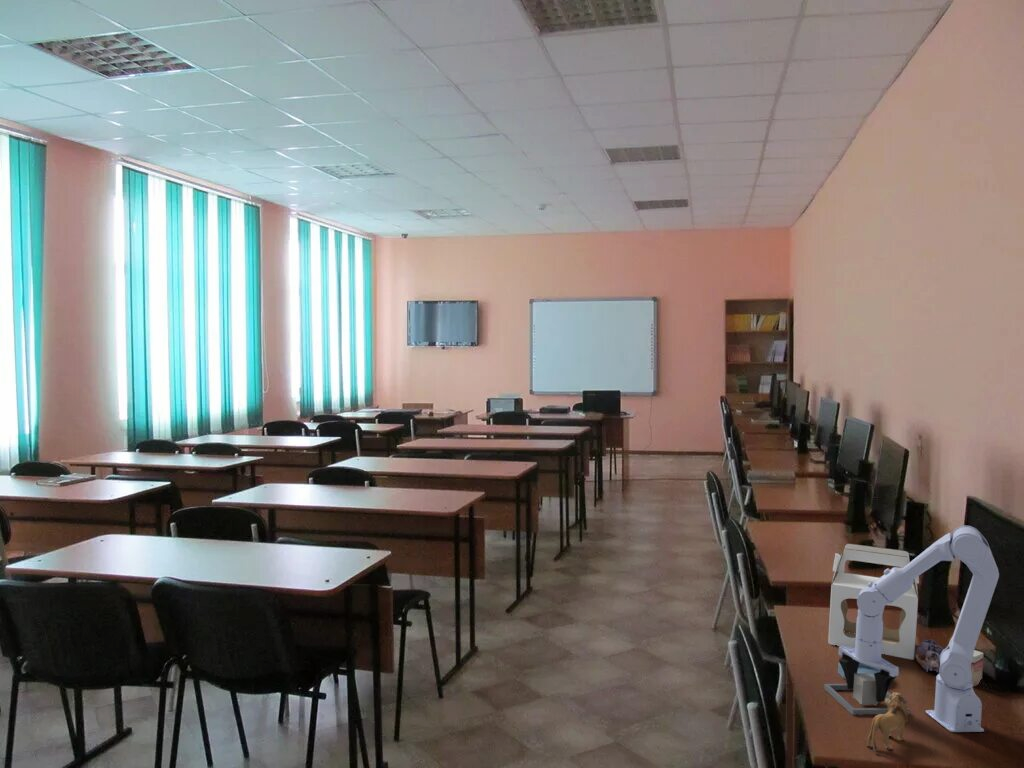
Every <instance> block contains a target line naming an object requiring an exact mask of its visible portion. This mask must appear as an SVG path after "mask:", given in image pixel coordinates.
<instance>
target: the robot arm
mask: <svg viewBox="0 0 1024 768" xmlns="http://www.w3.org/2000/svg"><path fill="white" fill-rule="evenodd" d="M956 558H957V559H959V561H960V562H962V563H964V564H965V565H966V566H967V568H968V569H969V571H970V572H971V573H972V577H971V580H970V584H969V587H968V589H967V593H966V595H965V598H964V600H963V605H962V607H961V611H960V614H959V617H958V619H957V622H956V625H955V629H954V631H953V634H952V637H951V638H950V639H949V642H948V645H947V646H946V648H943V649H944V650H943V651H942V652H941V654H940V668H939V671H938V674H937V675H936V676H935V678H936V679H935V691H934V692H935V694H934V709H927V710H926V709H925V713H926V714H927V715H928V716H930V718H932V719H933V720H935V721H936V722H937V723H939V724H940V725H941V726H943V727H944V729H946V730H947V731H949V732H950V733H972V732H973V733H976V732H977V733H978V732H979V733H982V732H985V729H984V728H983V727H982V725H981V723H982V711H983V710H982V709H983V703H982V701H981V699H980V697H978V695H977V694H976V693H975V691H974V687H973V682H972V681H971V679H972V673H971V663H972V659H973V654H974V650H976V649H975V647H976V646H977V642H978V639H979V636H980V634H981V630H982V628H983V624H984V621H985V619H986V616H987V613H988V610H989V607H990V605H991V601H992V598H993V596H994V593H995V589H996V587H997V584H998V580H999V578H1000V572H999V568H998V566H997V564H996V563H997V562H996V561H995V558H994V556H993V552H992V550H991V547H990V545H989V543H988V540H987V539H986V538H985V536H984V535H983V534H982V533H981V532H980V531H979V530H978V529H977V528H976V527H974V526H971V525H961V526H958V527H956V528H955V529H953V531H952V533H951V532H948V533H946V534H944V535H943V536H942V537H940V538H939V539H937V540H936V541H934V542H933V543H932V544H931V545H930V546H928V547H927V548H925V550H924V551H922V552H921V553H920V554H919V555H917V556H916V557H915V558H914V559H912V560H911V561H910V563H909V564H907V565H906V566H905V567H903V568H901V567H897V566H893V567H892V568H891V569H890V568H889V567H888V568H886V569H884V571H883V575H882V576H879V577H880V578H879V579H877V580H876V581H875V582H873V583H872V582H870V583H868V586H869V587H865V588H863V589H862V590H861V591H860V593H859V596H858V599H856V605H857V608H858V610H857V617H856V623H857V624H856V642H855V649H853V648H849V647H846V646H838V653H837V655H839V656H840V657H841V656H842V657H841V658H839V659H838V663H840V665H841V667H842V669H843V671H844V674H845V677H846V679H845V682H846V684H847V687H848V689H853V688H854V673H857V671H858V666H859V663H863V664H866V665H868V666H871V667H873V668H876V669H878V670H880V672H878V673H874V676H875V680H876V701H877V702H878V704H880V703H882V702H884V701H885V699H886V698H885V697H886V694H887V692H889V688H890V686H891V685H892V683H893V682H894V680H895V679H896V678H897V676H899V670H900V669H899V668H900V667H899V666H897V665H895V664H893V663H891V662H890V661H888V660H886V659H884V658H883V657H882V654H881V652H882V635H883V626H884V621H883V613H884V611H885V607H886V606H887V605H886V604H890V603H892V602H893V601H895V600H896V599H897V598H899V597H900V596H901V595H903V594H904V593H906V592H907V591H908V590H910V589H911V588H912V585H913V579H915V578H916V577H917V576H920V575H922V574H923V573H925V572H927V571H928V570H929V569H931V568H932V567H934V566H935V565H937V564H938V563H940V562H944V561H945V562H955V561H956Z"/></svg>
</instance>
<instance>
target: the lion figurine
mask: <svg viewBox="0 0 1024 768" xmlns="http://www.w3.org/2000/svg"><path fill="white" fill-rule="evenodd" d="M884 701H885V704H886V706H887V708H888V710H887V713H886V714H878V715H874V717H873V718H872V722H871V724H870V725H871V727H870V731H869V734H868V736H867V743H866V746H867V745H868V746H872V745H873V747H872V750H873V752H874V753H876V752H877V749H878V748H877V745H876V734H877V733H876V732H877V731H878V730H879V729H880V732H881V734H882V738H883V740H882V743H883V745H884V747H885V748H886V749H887V748H892V749H893V747H892V745H890V744H889V738H890V737H889V736H891V737H892V731H895V730H896V729H898V733H897V739H898V740H899V739H900V740H899V741H901V740H904V741H905V738H904V737H903V735H904V731H905V724H906V723H907V722H908V717H909V714H908V710H907V708H908V702H907V699H906V698H905V697H904V696H903V694H901V692H895V691H894V692H893V691H892V694H891V695H890V696H889V698H885V700H884ZM868 746H867V747H868Z"/></svg>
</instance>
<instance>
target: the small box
mask: <svg viewBox="0 0 1024 768" xmlns="http://www.w3.org/2000/svg"><path fill="white" fill-rule="evenodd" d="M983 666H984V652H983V651H979V650H976V649H974V654H973V659H972V663H971V673H972V679H971V681H972V682H973V688H974V687H976V686H978V685H980V684H979V682H980V680H981V679H982V680H983V669H984V668H983Z"/></svg>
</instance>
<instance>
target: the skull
mask: <svg viewBox="0 0 1024 768" xmlns="http://www.w3.org/2000/svg"><path fill="white" fill-rule="evenodd" d="M944 649H945V648H943V646H941V645H940V644H938V642H937V641H935V640H934V639H931V638H930V639H929V638H928V639H925V640H923V641H922V642H920V643H919V644H918V647H917V648H915V656H914V658H916V661H917V663H918V664H920V666H921V667H922V668H923V669H924V670H925V671H926V672H928V671H931V672H932V671H936V673H939V668H940V654H941V652H942V651H943V650H944Z"/></svg>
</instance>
